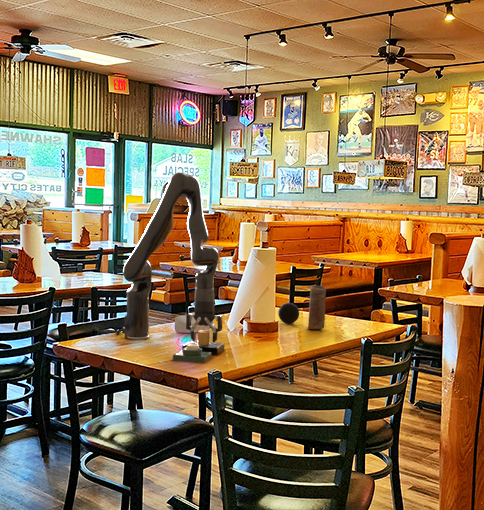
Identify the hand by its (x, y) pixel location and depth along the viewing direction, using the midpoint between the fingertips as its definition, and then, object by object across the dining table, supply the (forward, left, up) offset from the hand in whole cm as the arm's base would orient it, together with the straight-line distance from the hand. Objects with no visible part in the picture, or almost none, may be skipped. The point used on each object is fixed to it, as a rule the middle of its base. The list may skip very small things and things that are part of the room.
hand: (203, 341), depth 269 cm
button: (0, -14, 0) cm, 14 cm away
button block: (0, -14, -4) cm, 15 cm away
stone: (-18, +40, -4) cm, 44 cm away
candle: (+35, +63, -4) cm, 72 cm away
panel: (0, 0, -4) cm, 4 cm away
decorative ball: (+20, +74, -4) cm, 77 cm away
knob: (0, 0, -1) cm, 1 cm away
